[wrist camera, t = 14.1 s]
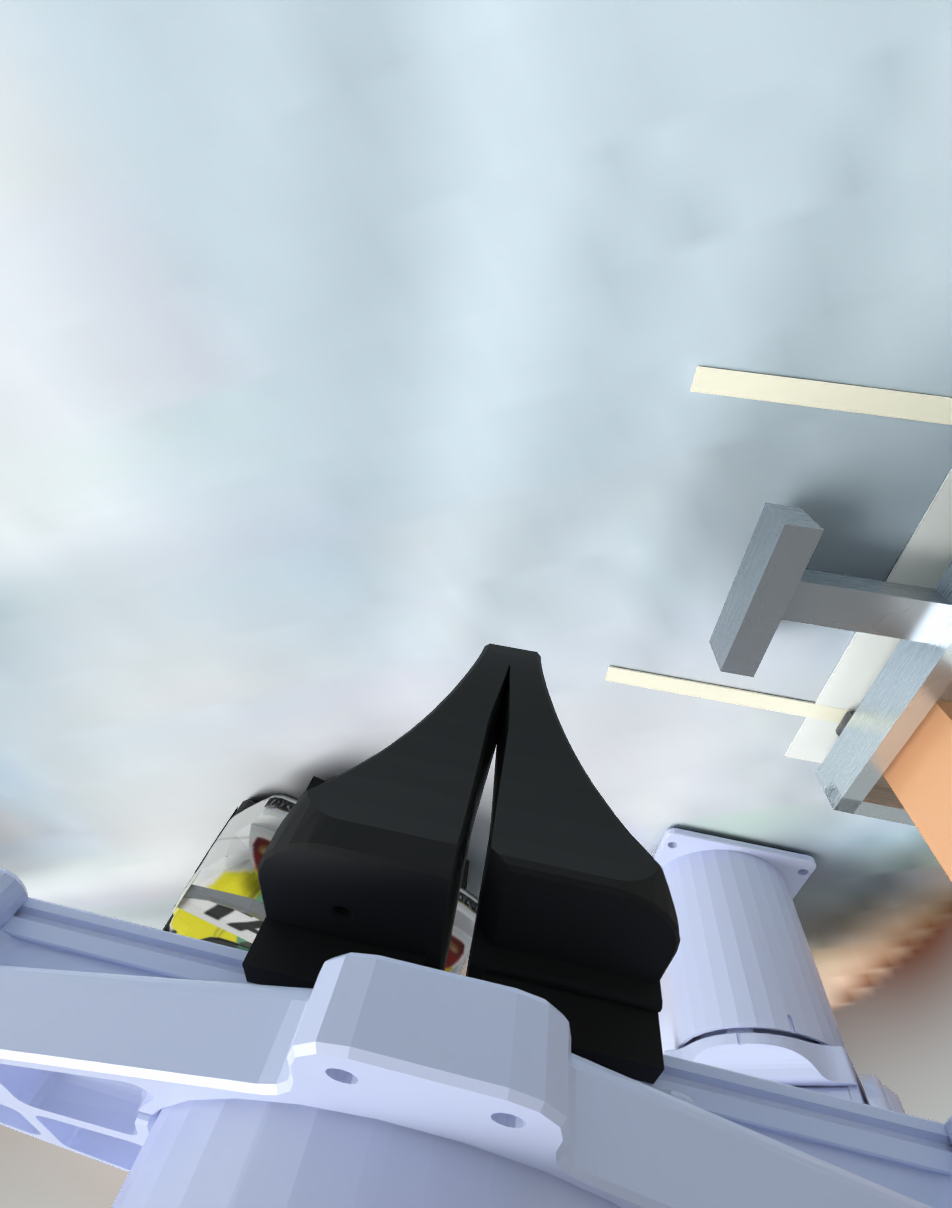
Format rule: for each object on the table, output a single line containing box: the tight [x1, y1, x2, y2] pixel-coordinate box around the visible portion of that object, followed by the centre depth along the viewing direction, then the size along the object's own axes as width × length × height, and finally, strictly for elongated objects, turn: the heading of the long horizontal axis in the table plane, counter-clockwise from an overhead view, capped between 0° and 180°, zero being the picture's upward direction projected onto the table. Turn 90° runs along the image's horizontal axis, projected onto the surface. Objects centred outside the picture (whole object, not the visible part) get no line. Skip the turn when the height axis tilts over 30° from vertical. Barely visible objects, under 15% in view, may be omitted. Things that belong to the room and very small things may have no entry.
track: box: [606, 366, 952, 763], centre depth 20 cm, size 19×18×1 cm
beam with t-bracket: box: [709, 503, 952, 826], centre depth 19 cm, size 18×14×3 cm
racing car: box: [163, 776, 479, 975], centre depth 37 cm, size 17×39×12 cm, turn 147°
